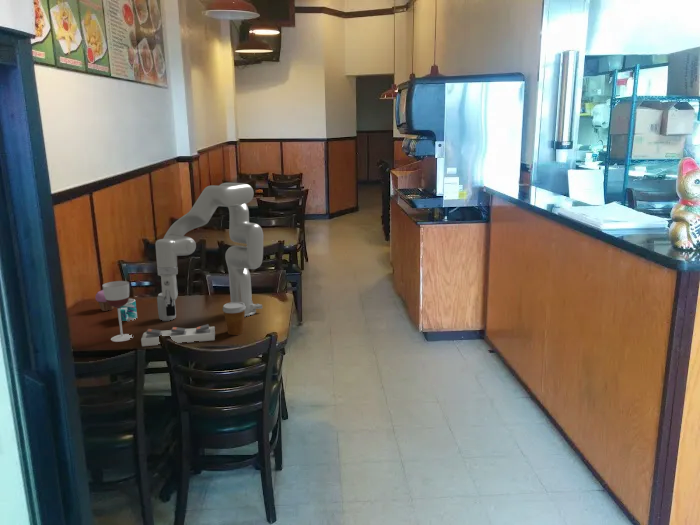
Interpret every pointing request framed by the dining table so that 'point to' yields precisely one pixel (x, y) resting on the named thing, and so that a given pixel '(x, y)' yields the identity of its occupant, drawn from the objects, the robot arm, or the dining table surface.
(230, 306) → the disposable coffee cup
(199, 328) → the rocker
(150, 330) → the rocker
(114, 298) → the wineglass
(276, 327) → the dining table surface
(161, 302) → the can
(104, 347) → the dining table surface
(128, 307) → the mug
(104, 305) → the cupcake
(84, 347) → the dining table surface
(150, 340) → the power strip
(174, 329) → the rocker middle
